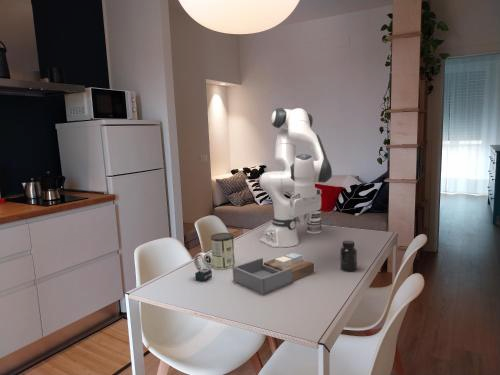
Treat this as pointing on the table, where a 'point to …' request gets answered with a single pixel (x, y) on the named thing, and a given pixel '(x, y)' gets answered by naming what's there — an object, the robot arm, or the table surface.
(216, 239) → the coffee can
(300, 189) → the robot arm
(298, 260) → the pale blue brick
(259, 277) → the box
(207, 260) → the watch
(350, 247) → the supplement bottle
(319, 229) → the decorative candle
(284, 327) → the table surface
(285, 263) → the cream tile
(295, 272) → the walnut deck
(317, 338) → the table surface
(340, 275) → the table surface
